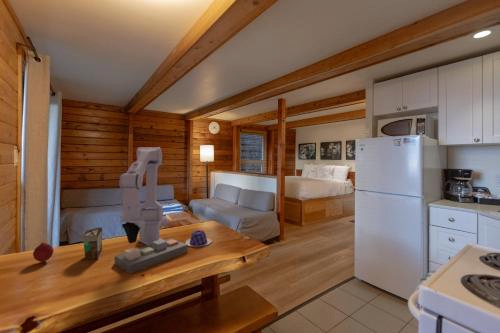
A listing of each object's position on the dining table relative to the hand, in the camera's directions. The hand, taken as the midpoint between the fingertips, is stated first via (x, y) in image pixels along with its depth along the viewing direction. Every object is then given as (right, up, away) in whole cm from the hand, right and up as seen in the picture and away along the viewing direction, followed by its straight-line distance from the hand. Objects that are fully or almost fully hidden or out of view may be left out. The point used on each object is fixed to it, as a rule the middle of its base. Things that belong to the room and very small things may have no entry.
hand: (132, 242), depth 89 cm
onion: (-34, -8, +2) cm, 35 cm away
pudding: (+19, -8, +23) cm, 31 cm away
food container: (-20, -8, +7) cm, 23 cm away
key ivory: (0, -6, 0) cm, 6 cm away
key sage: (+3, -7, +5) cm, 9 cm away
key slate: (+7, -6, +9) cm, 13 cm away
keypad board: (+5, -8, +7) cm, 12 cm away
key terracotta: (+10, -7, +13) cm, 18 cm away
